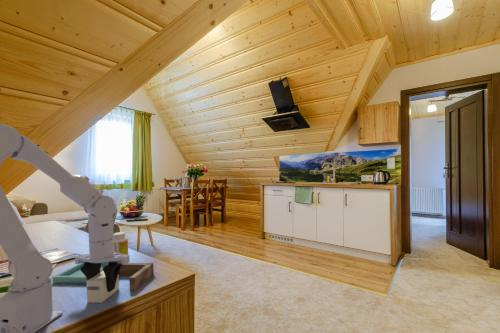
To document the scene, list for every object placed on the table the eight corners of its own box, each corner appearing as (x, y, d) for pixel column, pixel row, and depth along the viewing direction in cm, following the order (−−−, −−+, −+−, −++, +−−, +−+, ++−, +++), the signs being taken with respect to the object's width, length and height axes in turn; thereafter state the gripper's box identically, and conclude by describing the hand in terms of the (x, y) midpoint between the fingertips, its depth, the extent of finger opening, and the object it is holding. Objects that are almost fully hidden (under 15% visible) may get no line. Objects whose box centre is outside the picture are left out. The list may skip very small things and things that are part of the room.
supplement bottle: (130, 257, 96) (129, 230, 96) (125, 262, 91) (123, 234, 91) (115, 258, 96) (114, 231, 96) (108, 264, 90) (107, 235, 90)
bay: (134, 290, 70) (134, 277, 70) (88, 289, 71) (88, 277, 71) (153, 274, 80) (153, 263, 80) (113, 273, 82) (112, 262, 82)
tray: (91, 284, 75) (91, 277, 75) (52, 283, 76) (52, 277, 76) (119, 266, 87) (119, 260, 87) (85, 266, 89) (85, 260, 89)
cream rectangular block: (99, 304, 63) (98, 282, 63) (85, 303, 64) (84, 282, 64) (119, 289, 71) (118, 269, 71) (106, 288, 71) (105, 269, 71)
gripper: (135, 235, 71) (137, 283, 71) (88, 235, 72) (89, 282, 72) (119, 242, 64) (121, 296, 64) (67, 243, 65) (69, 295, 65)
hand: (103, 289), depth 67 cm, fingers closed on cream rectangular block, 4 cm apart
